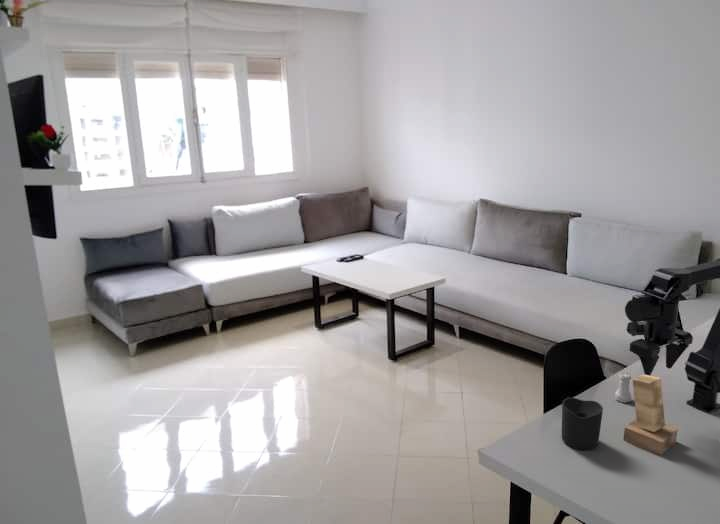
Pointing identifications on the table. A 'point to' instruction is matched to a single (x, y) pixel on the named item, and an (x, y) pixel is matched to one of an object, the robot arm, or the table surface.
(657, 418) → the oak pillar
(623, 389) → the rook chess piece
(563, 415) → the pen holder
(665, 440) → the light brown block
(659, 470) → the table surface
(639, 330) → the robot arm
